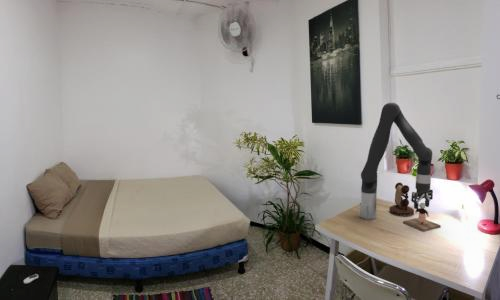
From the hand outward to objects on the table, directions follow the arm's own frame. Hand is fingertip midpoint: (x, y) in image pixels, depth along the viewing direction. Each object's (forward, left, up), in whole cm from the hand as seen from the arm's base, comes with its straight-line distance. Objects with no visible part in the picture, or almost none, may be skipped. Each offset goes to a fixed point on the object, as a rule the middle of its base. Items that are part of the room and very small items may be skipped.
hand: (421, 207), depth 177 cm
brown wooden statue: (+6, +20, -11) cm, 24 cm away
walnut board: (0, 0, -11) cm, 11 cm away
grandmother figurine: (+1, 0, -10) cm, 10 cm away
